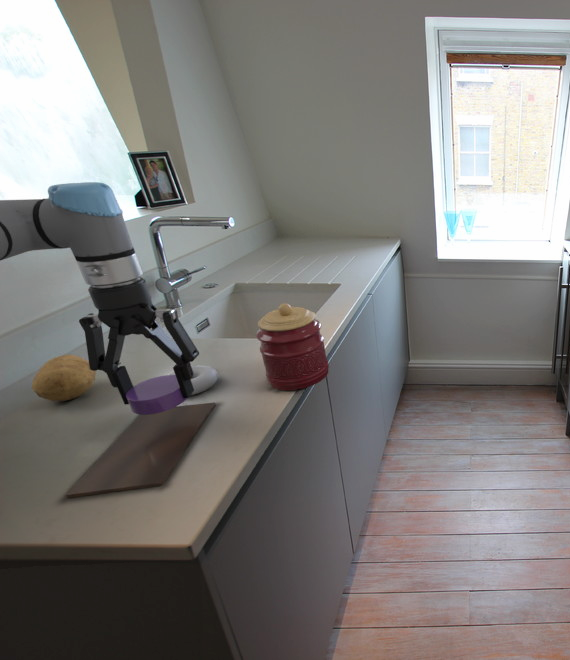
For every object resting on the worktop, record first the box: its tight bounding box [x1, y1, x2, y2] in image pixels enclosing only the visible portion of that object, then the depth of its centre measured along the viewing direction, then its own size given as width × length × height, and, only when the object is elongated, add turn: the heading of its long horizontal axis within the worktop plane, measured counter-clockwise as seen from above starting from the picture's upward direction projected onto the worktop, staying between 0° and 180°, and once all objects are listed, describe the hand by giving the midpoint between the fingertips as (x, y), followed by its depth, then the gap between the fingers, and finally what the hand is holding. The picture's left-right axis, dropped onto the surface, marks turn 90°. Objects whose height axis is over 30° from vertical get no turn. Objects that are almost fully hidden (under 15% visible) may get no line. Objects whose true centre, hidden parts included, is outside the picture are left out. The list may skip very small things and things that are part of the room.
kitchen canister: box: [255, 302, 330, 391], centre depth 97 cm, size 13×13×18 cm
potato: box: [31, 354, 97, 402], centre depth 92 cm, size 10×14×8 cm
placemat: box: [65, 402, 217, 499], centre depth 79 cm, size 13×23×1 cm, turn 11°
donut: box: [169, 364, 218, 396], centre depth 96 cm, size 10×4×10 cm
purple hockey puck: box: [126, 374, 188, 416], centre depth 82 cm, size 9×9×3 cm
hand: (160, 397), depth 82 cm, fingers closed on purple hockey puck, 9 cm apart
